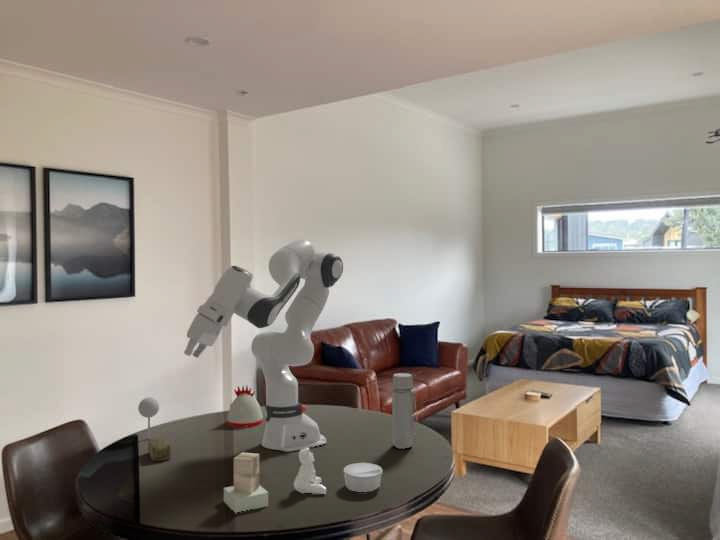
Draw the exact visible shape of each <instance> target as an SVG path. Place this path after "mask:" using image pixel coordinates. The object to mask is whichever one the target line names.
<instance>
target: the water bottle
mask: <svg viewBox="0 0 720 540" xmlns="http://www.w3.org/2000/svg"><path fill="white" fill-rule="evenodd" d="M391 389H392V392H391V393H392V394H391V401H392V403H391V408H392V409H391V412H392V413H391V414H392V415H391V417H392V418H391V420H392V421H391V426H392V427H391V430H392V431H391V432H392V434H391V435H392V437H391V440H392V443H393V444H394V445H400V446H403V445H410V444H412V445H413V435H418V432H419V423H418V415H417V414H418V411H417V404H416V397H415V396H416V390H417V389H415V388H414V384H413V376H412V374H410V373H406V372H404V373H403V372H398V373H394V374H393V376H392V385H391ZM415 419H416V433H415V431H414V430H415V429H414V425H415V423H414V422H415ZM392 443H391V444H392Z"/></svg>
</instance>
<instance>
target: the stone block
mask: <svg viewBox="0 0 720 540" xmlns="http://www.w3.org/2000/svg"><path fill="white" fill-rule="evenodd" d="M147 451H148V454H149V456H150V459H151V460H152V462H164V461H169V460H170V459H171V446H170V443H169V441H168V439H167V438H166V437H163V438H162V437H161V438H160V437H159V438H150V439H148V446H147Z"/></svg>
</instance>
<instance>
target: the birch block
mask: <svg viewBox="0 0 720 540" xmlns="http://www.w3.org/2000/svg"><path fill="white" fill-rule="evenodd" d="M259 485H260V453H252V452H244V451H243V452H241V453H239V454H238V455H236V456H235V457H233V486H234V492H235V493H244V494H252V493H253V492H254V491H256V490H257V489H258V488H259Z"/></svg>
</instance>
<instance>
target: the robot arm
mask: <svg viewBox="0 0 720 540" xmlns="http://www.w3.org/2000/svg"><path fill="white" fill-rule="evenodd" d="M268 271H269V275H270V276H271V278H272V279H273V281H274V282H276V283H277V285H278V286H279V287H278V288H277V289H276V290H275V292H273V294H272V295H268V294H265V293H262V292H261V291H258V290H256V289H254V288H253V287H252V285H251V284H252V280H253V276H254V275H253V274H252V273H251V272H250V271H248V270H246V269H244V268H241V267H240V266H237V265H230V266H229V267H228V268H227V269H226V270H225V271H224V273H223V274H222V276H221V277H220V279H219V280H218V281H217V283H216V285H215V286H214V289H213V292H212V294H210V296H209V297H208V298H207V299H206V301H205V302H204V303H203V304H201V305H199V307H198V308H197V309H196V312H197V314H196V316H195V317H194V318H193V320H192V322H191V324H190V326H189V328H188V330H187V332H186V337H187V338H188V339H189V340H188V342H187V345H186V348H185V350H184V351H183V353H184V355H186V356H189V357H190V356H191V355H192V357H195V358H196V359H199V357H200V356H201V354H202V353H203V352H204V351H205V349H207V347H213V346H214V344H215V343H216V341H217V339H218V337H219V335H220V334H221V333H222V332H221V331H222V329H223V327H227V325H228V324H229V322H230V321H231V319H232V318H233V315H234V314H235V315H237V316H238V317H240V318H241V319H244V320H246V321H248V323H250V324H251V325H252V326H254V327H256V328H257V329H263V328H266V327H269V326H272V325H273V323H274V322H275V321H276V319H277V317H278V316H279V313H281V310H282V309H283V308H284V307H285V306H286V304H287V303H288V302H289V300H290V299H291V298H292V296H293V295H294V294H295V292H296V291H297V289H298V287H299V285H300V283H301V279H302V280H304V285H303V286H302V287H301V288H300V290H299V291H298V293H297V294H296V296H295V297H294V299H293V300H292V302H291V303H290V305H289V307H288V309H287V310H286V312H285V314H284V318H285V319H284V321H286V324H287V327H286V330H285V331H284V332H278V331H265V332H260V333H258V334H256V335H255V336H254V338H253V339H252V342H251V344H250V345H251V346H250V348H251V353H252V355H253V356H254V358H255V359H256V361H258V363H259V365H260V368H261V371H262V372H263V376H264V381H265V393H266V394H265V398H266V399H265V401H266V403H265V405H264V419H265V426H264V427H265V428H264V432H263V438H262V442H261V446H262V447H263V448H266V449H269V450H276V451H277V450H278V451H282V452H287V453H288V452H294V451H300V450H303V449H304V448H309V449H311V448H315V446H317V447H320V446H319V445H322V446H324V445H323V444H325V443H326V444H327V439H326V437H325V436H324V435H323V434H321V433H320V429H319V425H318V423H317V422H316V421H315V420H314V419H312V418H311V417H310V416H308V415H307V414H305V412H307V411H308V407H307V406H306V405H304V404H303V403H300V402H299V382H298V380H297V378H296V377H295V376H294V375H293V373H292V372H291V370H290V367H301V366H306V365H308V364H309V363H310V362H311V361H312V360H313V357H314V353H315V346H314V343H313V342H312V339H311V337H312V336H311V335H312V331H313V328H314V326H315V324H316V323H317V321H318V319H319V318H320V317H319V316H320V315H321V313H322V312H323V310H324V308H325V305H326V303H327V301H328V298H329V295H330V288H331V287H333V286H334V285H335V283H337V282H338V281H339V279H340V278H341V276H342V274H343V272H344V263H343V261H342V258H341V257H340V256H339V255H337V254H336V253H335V254H334V253H331V252H330V253H328V252H325V251H317V250H315V248H314V246H313V245H312V243H311V242H310V241H308V240H306V239H302V238H300V239H297V240H293V241H291V242H289V243H288V244H286V245H283V247H281V248H280V249H278V250H277V251H275V252H274V253H273V254H272V255H271V257H270V258H269V261H268ZM197 345H198V346H197ZM196 346H197V347H196ZM195 348H196V349H195ZM194 349H195V350H194ZM326 444H325V445H326ZM310 447H311V448H310Z"/></svg>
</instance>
